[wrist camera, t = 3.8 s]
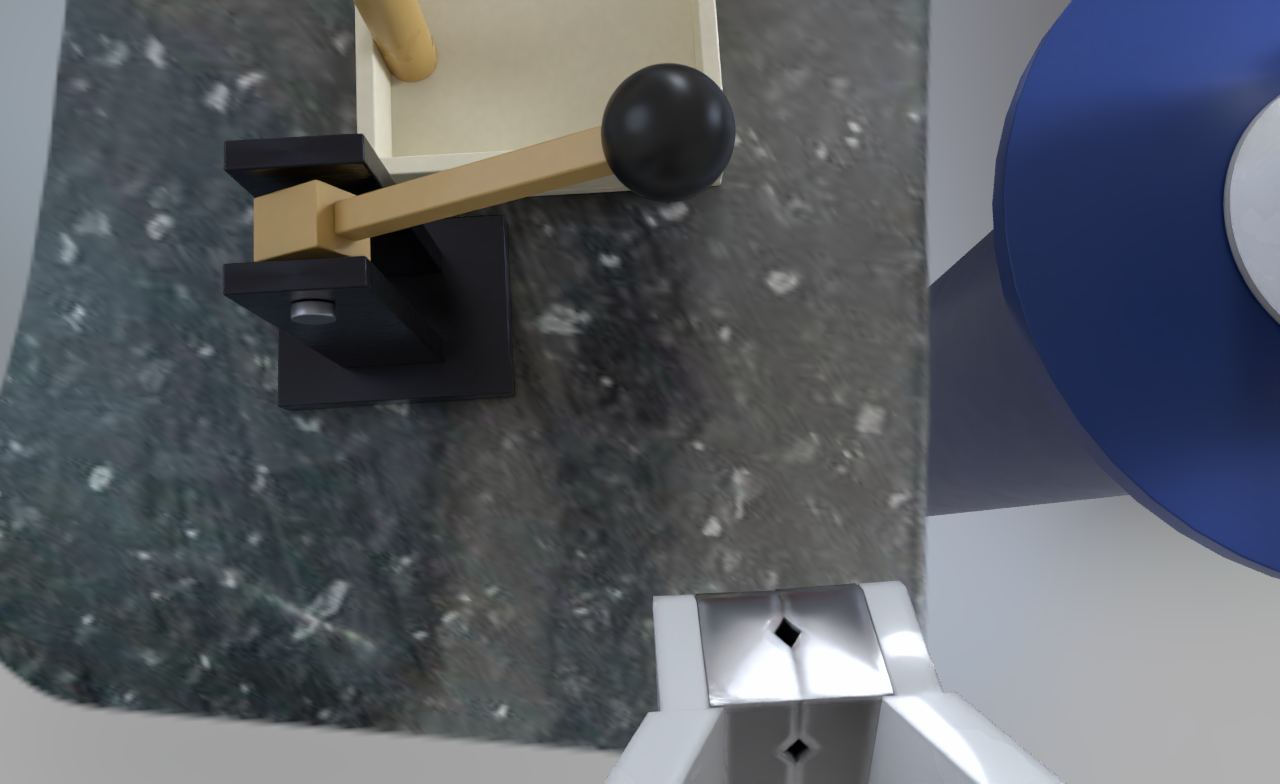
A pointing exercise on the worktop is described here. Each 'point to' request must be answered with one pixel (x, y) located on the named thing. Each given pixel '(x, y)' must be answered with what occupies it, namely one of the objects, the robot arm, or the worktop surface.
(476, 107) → the cream wooden tray
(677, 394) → the worktop surface
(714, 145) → the tap lever
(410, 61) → the spout
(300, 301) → the bracket
